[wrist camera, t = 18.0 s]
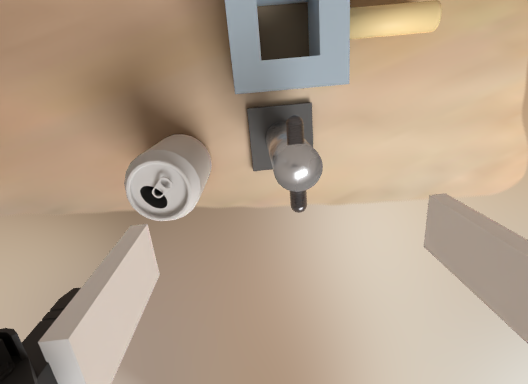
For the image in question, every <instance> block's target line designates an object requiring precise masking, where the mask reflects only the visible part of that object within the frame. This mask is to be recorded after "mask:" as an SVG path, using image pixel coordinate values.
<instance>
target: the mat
mask: <svg viewBox="0 0 528 384" xmlns="http://www.w3.org/2000/svg"><path fill="white" fill-rule="evenodd" d="M247 112H248V122H249V131H250V141H251V151H252V161H253V171H260V170H271V169H273V167H272V163H271V159H270V155H269V151H268V147H267V143H266V133H267V131H268V129H269V128H270V127H271V126H272V125H273V124H275V123H278V122H286V121H287V119H288V118H289V117H290V116H292V115H298V116H300V117H301V118H302V120H303V125H304V139H305V140H306V141H307V142H308V143H309V144H310V145H311V146H312V147H313V130H312V103H301V104H291V105H280V106H269V107H258V108H247Z"/></svg>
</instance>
